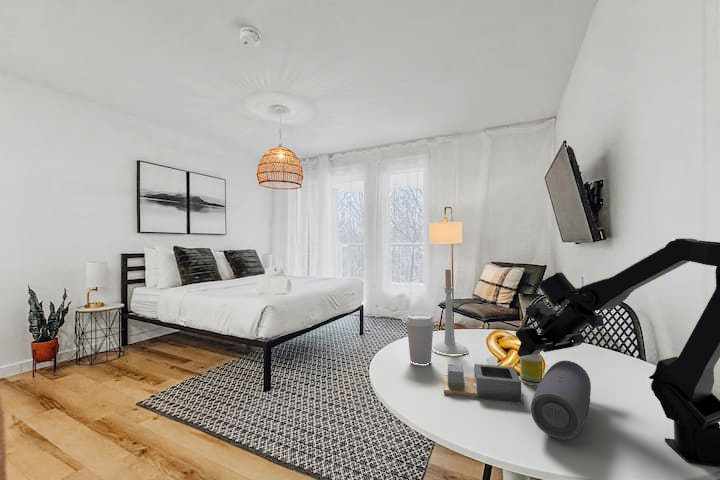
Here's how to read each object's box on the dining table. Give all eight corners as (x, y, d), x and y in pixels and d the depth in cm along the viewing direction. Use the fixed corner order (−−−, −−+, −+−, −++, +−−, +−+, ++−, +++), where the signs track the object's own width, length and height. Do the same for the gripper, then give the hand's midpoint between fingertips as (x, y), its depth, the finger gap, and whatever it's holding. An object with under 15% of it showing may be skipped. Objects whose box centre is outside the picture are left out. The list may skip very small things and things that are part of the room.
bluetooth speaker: (548, 394, 80) (546, 354, 81) (593, 405, 74) (592, 362, 75) (527, 436, 63) (526, 384, 63) (585, 454, 57) (583, 398, 57)
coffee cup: (401, 365, 102) (400, 318, 102) (411, 356, 110) (410, 312, 111) (431, 370, 97) (430, 320, 98) (438, 360, 106) (437, 315, 106)
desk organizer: (521, 403, 76) (521, 381, 76) (443, 394, 81) (443, 373, 81) (514, 385, 85) (513, 366, 85) (445, 379, 90) (444, 360, 91)
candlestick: (470, 357, 108) (468, 269, 109) (431, 355, 111) (429, 269, 112) (466, 346, 120) (464, 267, 121) (432, 344, 123) (430, 267, 124)
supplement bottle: (545, 386, 84) (544, 349, 85) (523, 385, 86) (522, 348, 86) (538, 378, 90) (537, 343, 90) (518, 377, 91) (517, 342, 91)
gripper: (571, 292, 87) (537, 324, 97) (520, 297, 80) (489, 330, 90) (603, 328, 79) (562, 358, 89) (550, 336, 72) (512, 368, 82)
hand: (531, 352), depth 88 cm, fingers open, 9 cm apart
